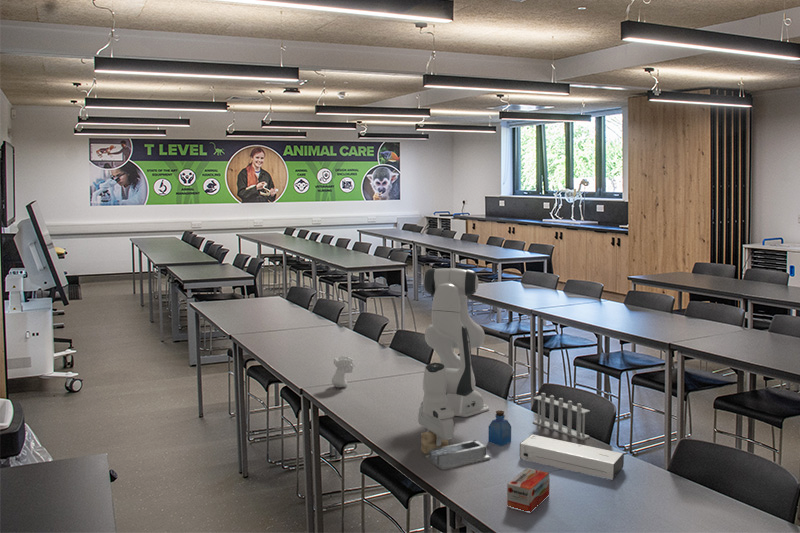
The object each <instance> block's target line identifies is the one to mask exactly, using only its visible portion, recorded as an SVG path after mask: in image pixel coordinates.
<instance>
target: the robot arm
mask: <svg viewBox="0 0 800 533" xmlns="http://www.w3.org/2000/svg"><path fill="white" fill-rule="evenodd" d="M422 284H423V287H424V291H425V292H426V293H427V294H429V295H430V296H431V297H433V299H432V303H431V304H432V306H431V318H430V319H431V324H429V325H428V326H427V328H426V329H425V332H424V340H425V343H427V345H428V346H429V347H430V348H432V350H434V351H435V353H436V354H437V356H438V358H439V361H440V362H431V363H428V364H427V365H426V366H425V367H424V371H423V378H422V380H423V382H422V389H423V399H422V401H421V403H420V406H419V408H418V414H417V422H418V425H420V426H422V427H423V428H425V429H426V432H429V431H431V432H433V433H434V434H436V437H437V440H435V445H437V446H440V445H441V440H442V439H444V440H447V439H449V440H452V439H453V437H454V427H455V425H454V424H455V423H454V419H453V418H454V417H462V418H467V417H470V416H473V415H479V414H480V413H484V412H486V411H489V410H490V408H489V406H488V404H486V403H484V402H485V401H484V398H483V395H482V394H481V393H480V392H479V391H477V390H476V389H475V387H476V378H475V371H474V366H473V358H472V349H477V348H480V347H482V346H483V344H484V342H485V340H486V339H485V338H486V336H485V335H486V334H485V331H484V328H483V327H482V326H481V325H480V324H478V323H476V322H475V321H474V320H473V318H472V317H471V316H470V313H469V309H468V296H469V297H470V296H472V295H474V294H475V293H476V292H477V290H478V289H479V284H480V283H479V277H478V275H477V272H475V270H471V269H463V268H457V267H456V268H455V267H451V268H448V267H447V268H446V267H445V268H443V267H442V268H435V267H433V268H428V269H427V270H426V271H425V274H424V275H423V279H422ZM455 349H458V351H459V352H458V353H459V355H458V354H457V353H455V352H454V350H455Z"/></svg>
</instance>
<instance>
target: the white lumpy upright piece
mask: <svg viewBox="0 0 800 533" xmlns="http://www.w3.org/2000/svg"><path fill="white" fill-rule="evenodd" d="M333 365H334V366H335V367H336V370H335V373H334V375H333V376H332V378H331V384H332V385H333V387H335V388H347V387H348V382H347V380H346V378H345V375H346V373H347V374H351V373H353V371H354V367H355V364H354V362H353V358H352V357H349V356H346V355H341V356H338V357H337V358H336V357H334V358H333Z"/></svg>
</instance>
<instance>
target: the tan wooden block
mask: <svg viewBox="0 0 800 533" xmlns="http://www.w3.org/2000/svg"><path fill="white" fill-rule="evenodd" d="M420 437H421V438H420V439H421V442H420V444H421V447H420V448H421V449H420V450H421V452H422V453H423V454H424V455H428V454H429V450H430V449H434V448H439V447H444V446H448V445H449V440H450V439H447V440H444V439H442V440H441V445H440V446H437V445H435V440H437V437H436V434H434V433H433V432H431V431H429V432H427V431H426V432H421V436H420Z"/></svg>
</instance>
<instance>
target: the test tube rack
mask: <svg viewBox="0 0 800 533" xmlns="http://www.w3.org/2000/svg"><path fill="white" fill-rule="evenodd" d="M533 400H537V420H533V421H532V424H535V425H536V426H540V427H542V428H546V429H548V430H551V431H553V432H557V433H560V434H563V435H565V436H569V437H573V438H575V439H578V440H581V441H585V440H587V439H589V438H590V435H589V434H585V424H586V422H585V420H586V414H588V413H589V412H591V410H590V409H585V408H583V405H582V403H580V402H579V403H577V404H576V405H573V401H572V400H567V403H566V402H564V398H563V397H559V398H558V400H556V399H555V396H554V395H553V394H551V395H549V397H546V393H545V392H541V393H540V395H538V396H533ZM546 404H549V418H548V419H549V421H546ZM555 406H556V407H558V411H557V413H558V417H557V419H558V420H557V424H555V423H554V421H555V419H554V418H555ZM564 409H566V410H567V411H566V412H567V415H566V416H567V417H566V418H567V420H566V421H567V423H566V427H564V426H563V424H564V419H563V416H564ZM573 412H576V430H573V429H572V428H573V427H572V426H573V425H572V424H573V422H572V421H573Z"/></svg>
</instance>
